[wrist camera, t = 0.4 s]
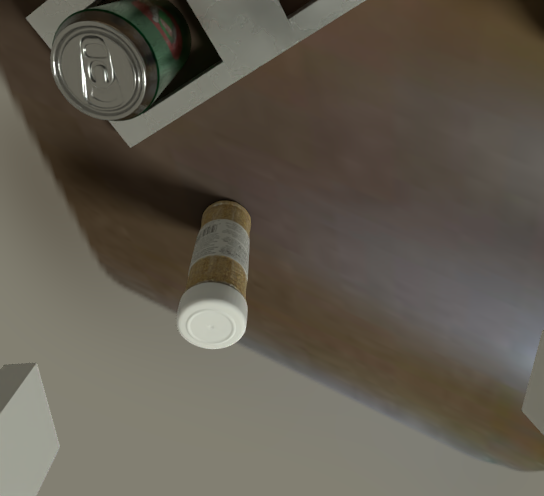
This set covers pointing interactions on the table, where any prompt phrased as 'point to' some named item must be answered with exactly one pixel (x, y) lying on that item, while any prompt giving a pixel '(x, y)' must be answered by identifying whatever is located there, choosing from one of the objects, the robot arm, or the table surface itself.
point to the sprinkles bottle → (217, 279)
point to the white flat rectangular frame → (226, 39)
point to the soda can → (119, 56)
